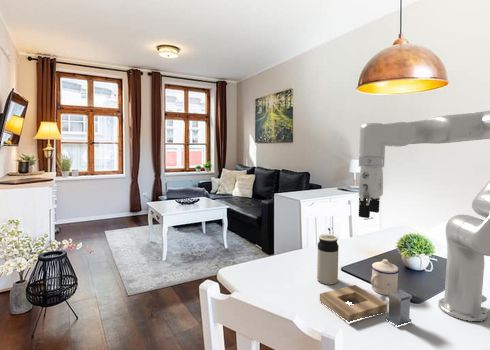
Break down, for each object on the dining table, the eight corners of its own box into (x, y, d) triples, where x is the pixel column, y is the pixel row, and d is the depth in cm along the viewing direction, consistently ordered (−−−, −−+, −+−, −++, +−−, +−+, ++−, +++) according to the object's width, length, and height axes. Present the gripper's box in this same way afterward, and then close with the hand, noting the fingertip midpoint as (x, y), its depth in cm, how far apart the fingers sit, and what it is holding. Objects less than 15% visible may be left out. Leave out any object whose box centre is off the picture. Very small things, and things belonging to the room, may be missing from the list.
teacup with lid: (380, 282, 114) (382, 253, 113) (403, 292, 106) (404, 261, 105) (360, 289, 108) (361, 259, 107) (382, 300, 100) (383, 268, 99)
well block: (355, 292, 106) (355, 284, 106) (387, 312, 93) (387, 303, 93) (319, 301, 100) (319, 293, 99) (348, 324, 87) (348, 315, 87)
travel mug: (338, 285, 111) (339, 240, 109) (317, 284, 113) (318, 239, 111) (336, 276, 119) (337, 234, 117) (316, 275, 120) (317, 233, 119)
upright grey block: (399, 316, 91) (400, 289, 90) (411, 323, 87) (412, 295, 87) (385, 320, 89) (387, 293, 88) (397, 328, 85) (398, 299, 84)
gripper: (375, 164, 83) (372, 221, 85) (391, 161, 96) (388, 211, 98) (349, 163, 88) (347, 217, 90) (368, 160, 101) (366, 208, 103)
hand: (369, 214), depth 94 cm, fingers open, 9 cm apart
